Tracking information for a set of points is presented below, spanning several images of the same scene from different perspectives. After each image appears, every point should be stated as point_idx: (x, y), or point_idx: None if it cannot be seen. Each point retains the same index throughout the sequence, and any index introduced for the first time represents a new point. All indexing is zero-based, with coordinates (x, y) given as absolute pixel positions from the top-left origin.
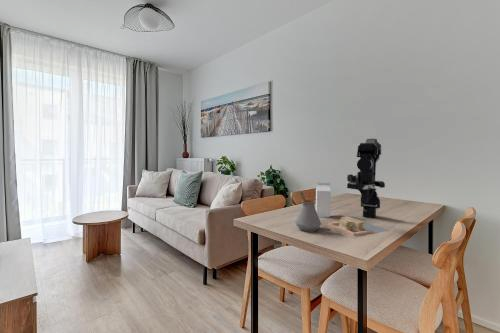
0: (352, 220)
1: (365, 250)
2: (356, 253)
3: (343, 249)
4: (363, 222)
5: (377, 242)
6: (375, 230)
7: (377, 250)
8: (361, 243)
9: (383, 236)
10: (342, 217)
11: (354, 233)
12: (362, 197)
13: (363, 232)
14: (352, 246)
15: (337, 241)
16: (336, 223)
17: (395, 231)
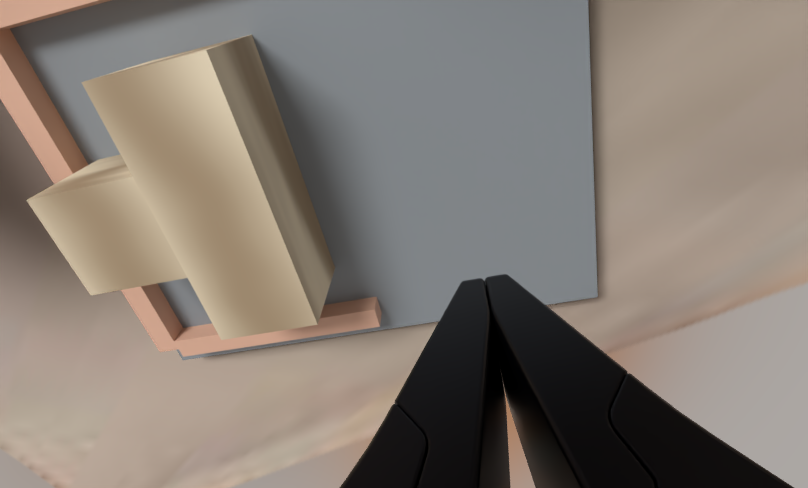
0: (198, 249)
1: (164, 469)
2: (99, 481)
3: (42, 439)
4: (294, 326)
5: (307, 411)
6: (446, 279)
7: (231, 480)
8: (190, 403)
9: None
10: (110, 87)
11: (170, 348)
12: (410, 380)
13: (264, 341)
14: (111, 422)
15: (33, 349)
16: (98, 2)
17: (664, 277)
